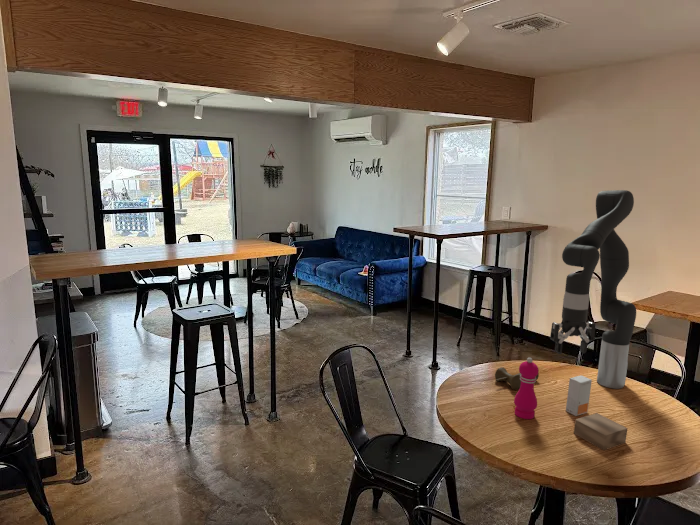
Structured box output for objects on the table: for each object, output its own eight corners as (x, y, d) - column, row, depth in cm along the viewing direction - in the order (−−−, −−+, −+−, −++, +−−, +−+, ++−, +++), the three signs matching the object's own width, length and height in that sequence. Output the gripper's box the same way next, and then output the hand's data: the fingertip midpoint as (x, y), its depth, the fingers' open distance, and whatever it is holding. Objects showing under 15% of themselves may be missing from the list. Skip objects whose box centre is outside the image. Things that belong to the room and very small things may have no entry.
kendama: (543, 385, 179) (504, 393, 171) (524, 376, 188) (486, 383, 179) (545, 370, 178) (505, 377, 170) (525, 362, 187) (487, 368, 178)
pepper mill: (509, 414, 155) (514, 357, 151) (518, 407, 160) (523, 352, 156) (530, 422, 150) (536, 363, 146) (539, 414, 155) (545, 357, 151)
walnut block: (595, 427, 148) (596, 412, 147) (625, 443, 139) (627, 428, 139) (573, 434, 144) (575, 419, 143) (603, 451, 135) (605, 435, 134)
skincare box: (576, 416, 154) (580, 382, 152) (565, 411, 158) (569, 377, 156) (588, 412, 157) (592, 379, 155) (577, 407, 161) (581, 374, 159)
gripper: (588, 302, 156) (583, 348, 159) (548, 303, 154) (544, 349, 157) (603, 308, 149) (597, 356, 152) (561, 309, 147) (556, 357, 150)
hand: (570, 352), depth 155 cm, fingers open, 8 cm apart
